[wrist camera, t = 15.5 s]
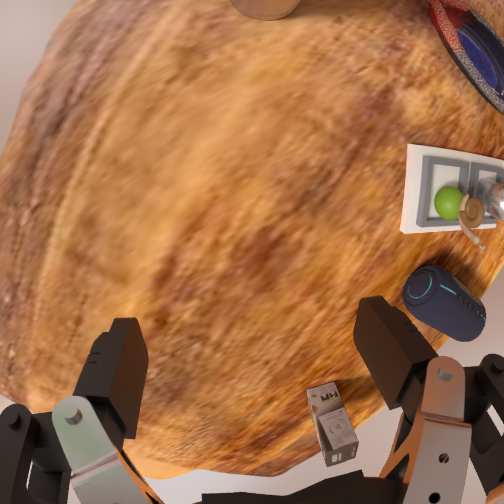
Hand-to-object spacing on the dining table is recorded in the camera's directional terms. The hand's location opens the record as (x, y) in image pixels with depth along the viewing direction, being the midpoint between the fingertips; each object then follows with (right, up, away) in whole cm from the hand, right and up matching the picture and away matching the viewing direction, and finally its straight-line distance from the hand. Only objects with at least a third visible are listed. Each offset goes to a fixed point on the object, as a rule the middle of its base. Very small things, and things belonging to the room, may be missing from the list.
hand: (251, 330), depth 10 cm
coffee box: (+15, -29, +48) cm, 58 cm away
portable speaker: (+37, -6, +40) cm, 55 cm away
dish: (+40, +38, +21) cm, 59 cm away
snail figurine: (+30, +11, +30) cm, 44 cm away
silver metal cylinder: (+43, +14, +30) cm, 54 cm away
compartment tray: (+36, +14, +31) cm, 50 cm away
